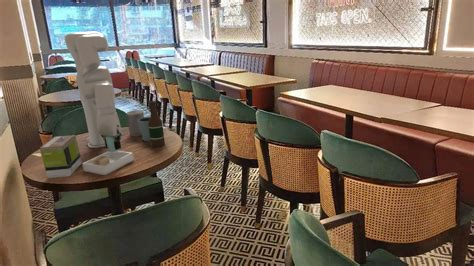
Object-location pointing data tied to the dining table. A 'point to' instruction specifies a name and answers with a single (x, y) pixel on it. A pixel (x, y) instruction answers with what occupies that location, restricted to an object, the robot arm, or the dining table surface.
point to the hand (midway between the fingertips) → (113, 147)
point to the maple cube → (101, 160)
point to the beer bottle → (155, 127)
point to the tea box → (61, 156)
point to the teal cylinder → (110, 143)
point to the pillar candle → (134, 122)
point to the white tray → (115, 159)
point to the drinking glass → (144, 128)
